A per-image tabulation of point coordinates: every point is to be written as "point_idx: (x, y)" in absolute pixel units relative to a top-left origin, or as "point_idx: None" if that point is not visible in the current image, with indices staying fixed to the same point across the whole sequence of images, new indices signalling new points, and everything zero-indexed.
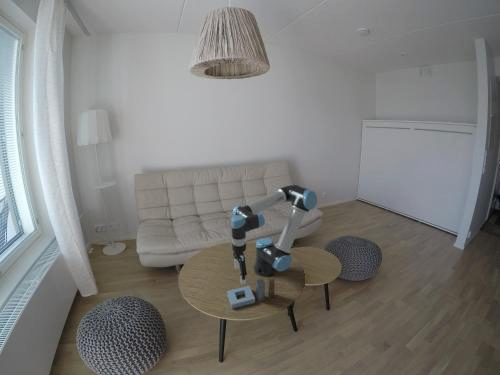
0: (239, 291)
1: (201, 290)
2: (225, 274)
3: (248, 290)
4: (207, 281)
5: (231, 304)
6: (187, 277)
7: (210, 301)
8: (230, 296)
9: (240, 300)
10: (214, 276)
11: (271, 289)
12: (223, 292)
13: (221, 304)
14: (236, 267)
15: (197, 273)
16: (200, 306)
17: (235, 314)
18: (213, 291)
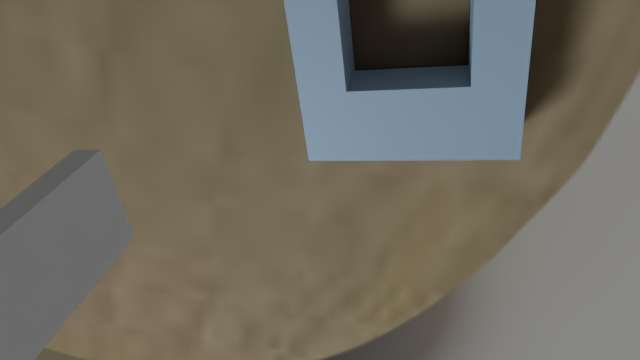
0: (340, 30)
1: (235, 297)
2: (41, 101)
3: None
4: (140, 248)
5: (518, 158)
6: (105, 344)
7: (361, 265)
8: (398, 146)
9: (499, 51)
10: None
11: None
12: (279, 160)
13: (421, 200)
14: (105, 227)
15: None
16: (392, 326)
17: (601, 109)
18: (255, 229)
